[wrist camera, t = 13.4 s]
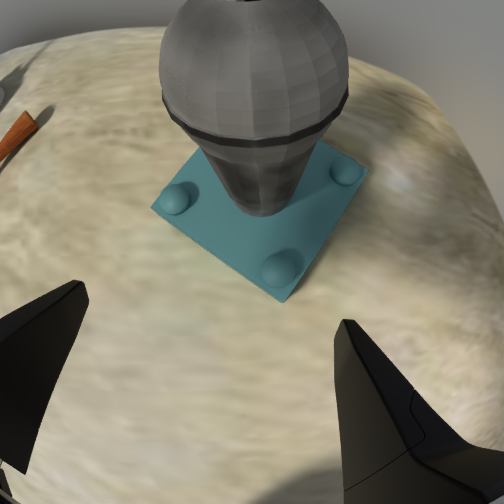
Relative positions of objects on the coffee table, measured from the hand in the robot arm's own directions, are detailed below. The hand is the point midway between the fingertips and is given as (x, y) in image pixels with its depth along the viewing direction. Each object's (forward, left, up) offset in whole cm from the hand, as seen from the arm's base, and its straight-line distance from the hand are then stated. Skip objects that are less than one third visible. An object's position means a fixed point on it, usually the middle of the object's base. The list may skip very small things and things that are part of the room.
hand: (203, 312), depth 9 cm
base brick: (+4, -8, -12) cm, 15 cm away
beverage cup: (+4, -8, -10) cm, 14 cm away
